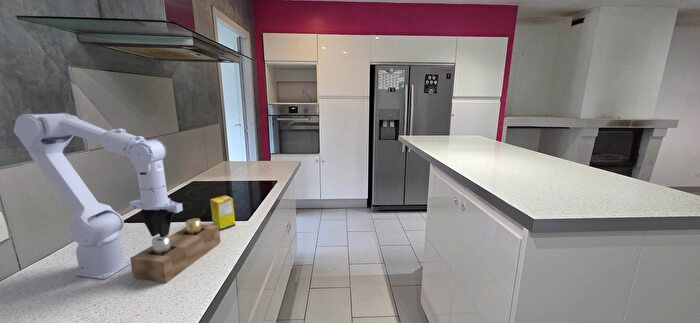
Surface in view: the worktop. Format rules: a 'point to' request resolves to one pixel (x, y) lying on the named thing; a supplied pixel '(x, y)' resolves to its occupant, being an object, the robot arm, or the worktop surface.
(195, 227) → the brass peg
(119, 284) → the worktop surface
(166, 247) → the steel peg
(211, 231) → the walnut peg board
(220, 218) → the supplement box
